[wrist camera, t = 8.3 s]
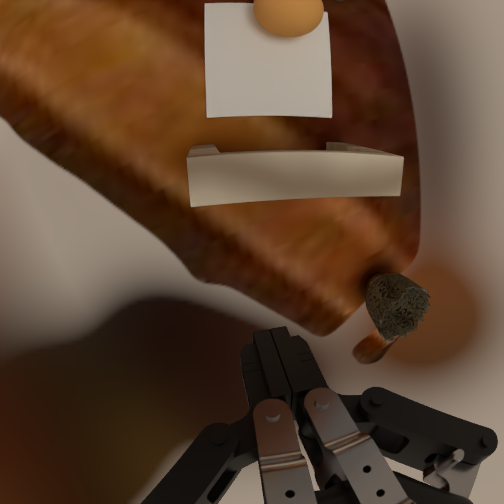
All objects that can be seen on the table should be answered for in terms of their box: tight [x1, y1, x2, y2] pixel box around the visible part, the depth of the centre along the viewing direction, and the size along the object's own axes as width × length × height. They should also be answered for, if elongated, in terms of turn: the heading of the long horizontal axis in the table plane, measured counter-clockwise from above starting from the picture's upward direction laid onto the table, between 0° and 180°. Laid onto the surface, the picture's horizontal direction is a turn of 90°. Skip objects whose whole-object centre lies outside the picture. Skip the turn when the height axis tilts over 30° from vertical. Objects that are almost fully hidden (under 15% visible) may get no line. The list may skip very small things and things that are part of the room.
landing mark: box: [205, 3, 332, 118], centre depth 21 cm, size 12×12×1 cm
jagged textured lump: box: [365, 272, 430, 342], centre depth 31 cm, size 8×7×8 cm
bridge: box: [187, 142, 404, 207], centre depth 21 cm, size 3×15×10 cm, turn 91°
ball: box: [253, 0, 324, 37], centre depth 17 cm, size 6×6×6 cm
